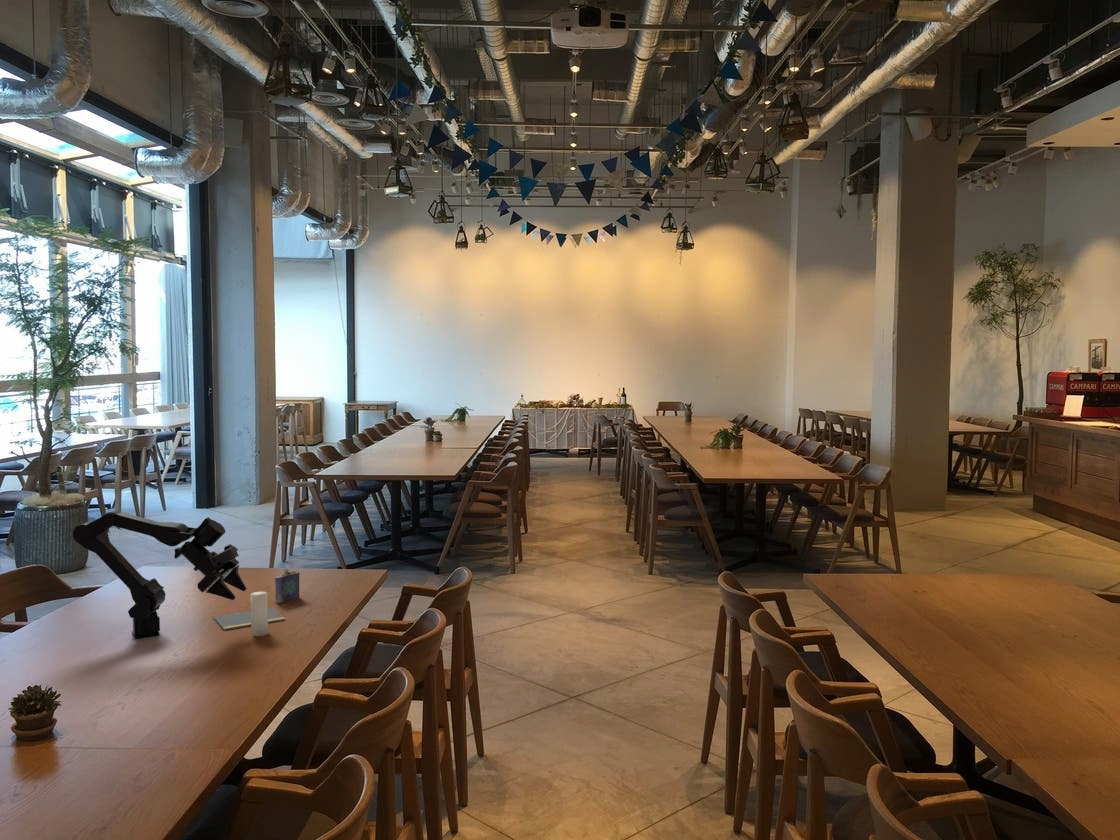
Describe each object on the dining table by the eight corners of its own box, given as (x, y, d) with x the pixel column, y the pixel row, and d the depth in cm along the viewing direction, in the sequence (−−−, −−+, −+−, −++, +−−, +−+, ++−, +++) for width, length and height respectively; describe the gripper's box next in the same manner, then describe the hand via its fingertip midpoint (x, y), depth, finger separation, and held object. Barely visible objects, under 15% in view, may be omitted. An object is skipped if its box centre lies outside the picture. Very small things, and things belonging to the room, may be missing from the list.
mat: (224, 630, 258) (224, 628, 258) (213, 618, 270) (213, 616, 270) (285, 620, 269) (285, 618, 268) (272, 609, 280) (272, 607, 280)
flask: (278, 604, 285) (278, 572, 284) (272, 603, 287) (272, 571, 286) (301, 598, 293) (300, 566, 292) (295, 596, 294) (295, 565, 294)
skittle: (253, 637, 252) (252, 596, 251) (249, 633, 256) (248, 593, 255) (270, 634, 255) (269, 594, 254) (265, 630, 259) (264, 590, 258)
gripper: (207, 545, 244) (248, 583, 245) (231, 531, 262) (269, 567, 263) (180, 573, 244) (220, 611, 245) (206, 557, 263) (243, 593, 264)
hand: (240, 594), depth 255 cm, fingers open, 9 cm apart
